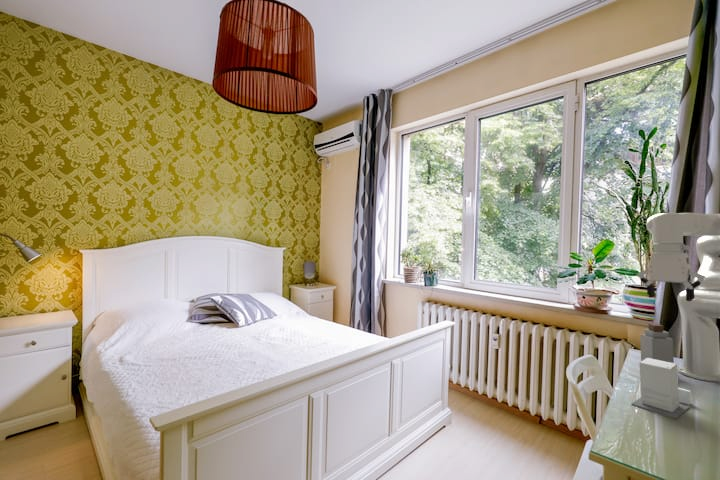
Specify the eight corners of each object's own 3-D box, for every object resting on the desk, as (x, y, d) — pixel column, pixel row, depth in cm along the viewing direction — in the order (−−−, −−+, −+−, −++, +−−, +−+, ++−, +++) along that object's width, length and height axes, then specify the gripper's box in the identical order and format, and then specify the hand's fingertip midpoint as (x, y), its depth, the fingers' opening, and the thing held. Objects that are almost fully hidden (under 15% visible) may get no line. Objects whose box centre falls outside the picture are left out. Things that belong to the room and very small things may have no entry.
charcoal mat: (647, 394, 106) (647, 393, 106) (689, 407, 97) (689, 406, 97) (631, 404, 100) (631, 403, 100) (675, 419, 91) (675, 417, 91)
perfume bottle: (674, 375, 121) (672, 327, 121) (653, 374, 122) (651, 326, 122) (661, 368, 127) (659, 322, 128) (641, 367, 129) (639, 322, 129)
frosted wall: (642, 389, 110) (641, 377, 110) (691, 403, 100) (690, 390, 100) (640, 390, 109) (640, 378, 109) (689, 404, 99) (689, 391, 99)
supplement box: (680, 405, 98) (678, 363, 98) (672, 413, 94) (671, 369, 94) (648, 396, 104) (647, 356, 104) (640, 403, 100) (638, 361, 100)
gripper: (707, 248, 106) (709, 301, 106) (641, 248, 121) (642, 294, 121) (700, 249, 102) (702, 303, 102) (632, 249, 117) (634, 296, 117)
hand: (669, 298), depth 112 cm, fingers open, 9 cm apart
